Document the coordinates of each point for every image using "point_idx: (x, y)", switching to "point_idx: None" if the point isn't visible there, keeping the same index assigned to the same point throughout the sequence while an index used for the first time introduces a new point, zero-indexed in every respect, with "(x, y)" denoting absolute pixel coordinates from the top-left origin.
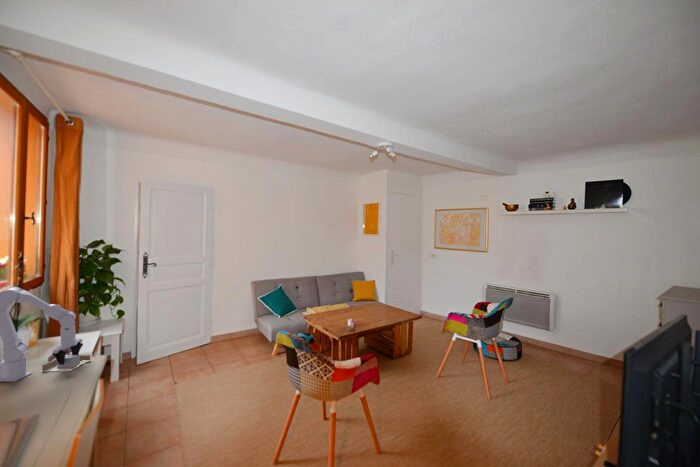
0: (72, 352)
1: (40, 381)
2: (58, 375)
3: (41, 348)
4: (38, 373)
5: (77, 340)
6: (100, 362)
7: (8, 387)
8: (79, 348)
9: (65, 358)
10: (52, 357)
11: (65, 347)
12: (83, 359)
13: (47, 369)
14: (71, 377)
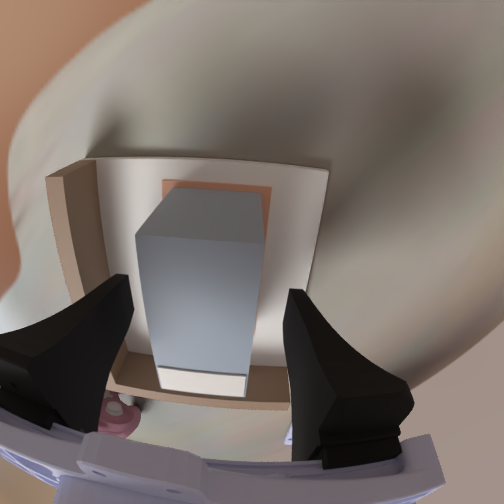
0: (110, 357)
1: (444, 275)
2: (384, 222)
3: None
4: None
5: (8, 451)
6: (113, 27)
7: (444, 363)
8: (52, 330)
9: (253, 334)
10: (136, 418)
11: (337, 490)
12: (92, 221)
13: (267, 363)
14: (442, 82)
